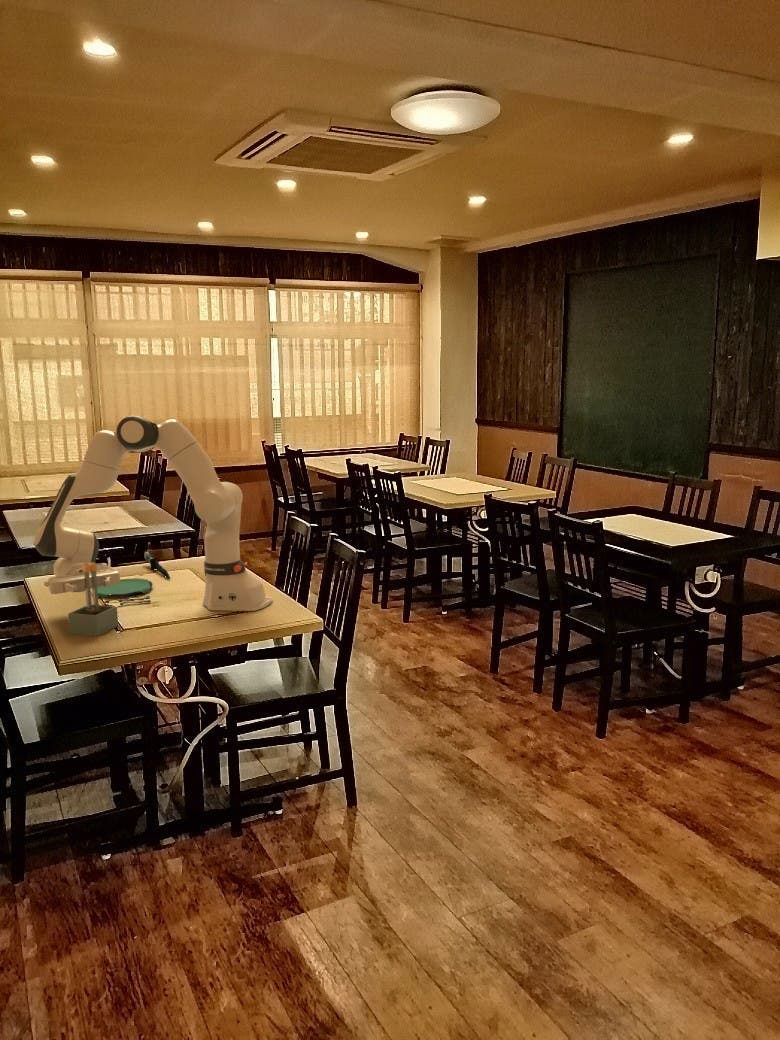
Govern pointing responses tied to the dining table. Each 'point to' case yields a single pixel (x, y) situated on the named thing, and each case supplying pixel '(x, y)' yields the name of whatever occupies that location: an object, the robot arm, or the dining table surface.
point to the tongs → (94, 588)
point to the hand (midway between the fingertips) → (91, 586)
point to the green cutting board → (127, 589)
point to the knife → (155, 564)
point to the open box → (93, 621)
